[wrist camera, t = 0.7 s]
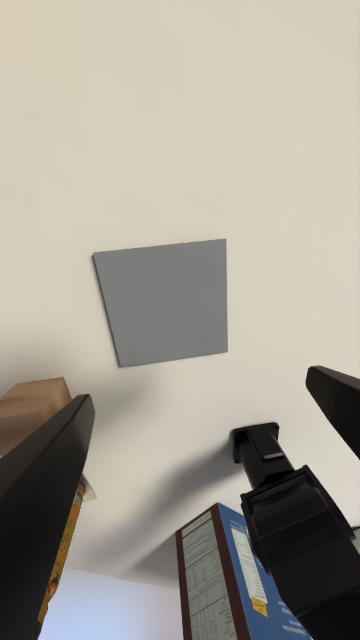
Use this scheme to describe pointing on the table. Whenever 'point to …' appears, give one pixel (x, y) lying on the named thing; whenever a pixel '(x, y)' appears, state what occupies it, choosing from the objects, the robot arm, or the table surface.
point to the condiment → (64, 549)
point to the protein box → (228, 584)
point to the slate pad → (166, 300)
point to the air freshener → (359, 542)
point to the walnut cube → (29, 409)
